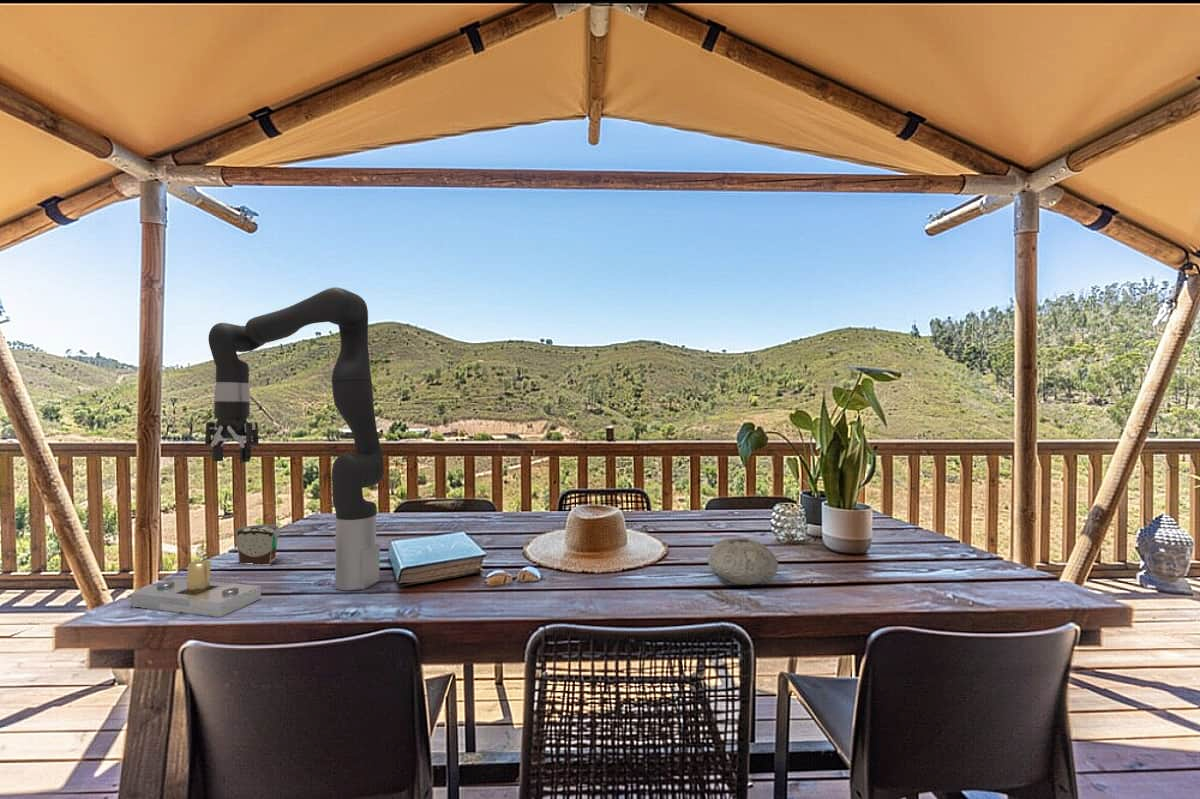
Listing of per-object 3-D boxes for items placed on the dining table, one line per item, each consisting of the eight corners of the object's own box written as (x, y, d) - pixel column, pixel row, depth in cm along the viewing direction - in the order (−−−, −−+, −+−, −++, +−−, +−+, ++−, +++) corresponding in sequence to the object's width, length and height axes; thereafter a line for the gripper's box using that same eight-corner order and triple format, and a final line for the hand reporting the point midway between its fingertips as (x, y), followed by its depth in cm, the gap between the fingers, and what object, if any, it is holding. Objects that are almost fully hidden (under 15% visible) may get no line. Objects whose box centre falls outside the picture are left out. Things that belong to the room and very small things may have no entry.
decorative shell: (792, 587, 125) (793, 547, 125) (733, 596, 119) (733, 554, 119) (748, 565, 142) (748, 530, 142) (694, 572, 136) (694, 536, 136)
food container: (290, 559, 145) (291, 524, 145) (274, 565, 139) (275, 530, 139) (251, 557, 146) (252, 523, 146) (234, 564, 140) (234, 528, 140)
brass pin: (213, 600, 114) (215, 561, 114) (196, 607, 110) (197, 566, 111) (199, 598, 115) (201, 559, 115) (181, 605, 111) (183, 565, 111)
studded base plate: (260, 599, 115) (261, 583, 115) (220, 617, 106) (220, 600, 106) (177, 590, 120) (177, 575, 120) (130, 607, 110) (131, 590, 110)
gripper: (267, 400, 133) (266, 460, 133) (223, 400, 136) (222, 459, 136) (241, 400, 126) (241, 464, 125) (196, 399, 128) (195, 462, 128)
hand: (231, 461), depth 131 cm, fingers open, 8 cm apart
